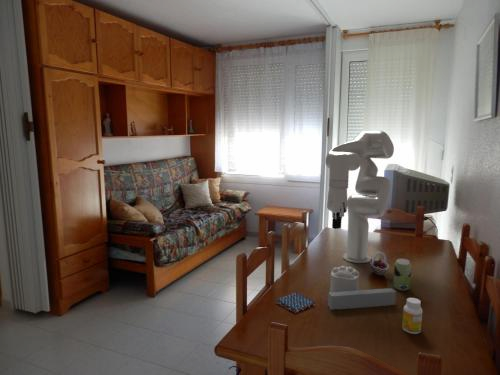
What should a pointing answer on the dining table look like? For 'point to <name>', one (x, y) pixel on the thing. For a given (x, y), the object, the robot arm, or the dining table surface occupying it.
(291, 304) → the woven mat
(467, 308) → the dining table surface
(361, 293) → the grey long bar
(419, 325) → the supplement bottle
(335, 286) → the lumpy-topped squat cylinder
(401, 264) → the beverage can
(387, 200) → the robot arm
